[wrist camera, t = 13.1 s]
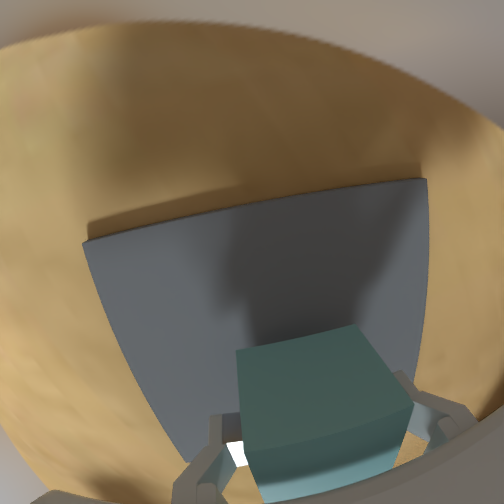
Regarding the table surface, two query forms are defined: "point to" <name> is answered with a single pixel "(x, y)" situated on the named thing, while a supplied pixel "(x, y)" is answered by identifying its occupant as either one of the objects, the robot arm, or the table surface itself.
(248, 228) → the charcoal mat
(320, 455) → the teal cube
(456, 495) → the robot arm
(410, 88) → the table surface
